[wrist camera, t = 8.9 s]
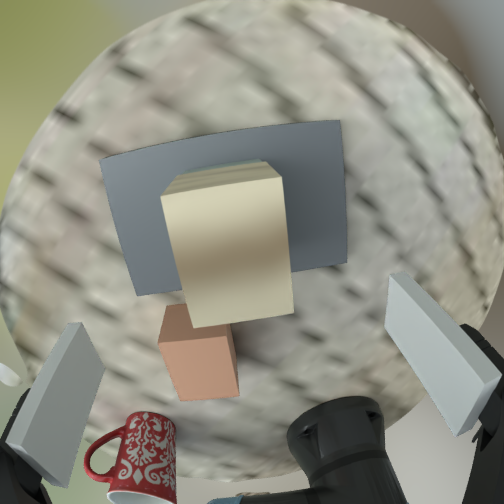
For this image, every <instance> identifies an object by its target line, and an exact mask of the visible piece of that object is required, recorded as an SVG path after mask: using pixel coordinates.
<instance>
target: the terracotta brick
mask: <svg viewBox="0 0 504 504" xmlns="http://www.w3.org/2000/svg"><path fill="white" fill-rule="evenodd" d="M158 345H159V348H160V351H161V354H162V356H163V359H164V362H165V364H166V367H167V369H168V372H169V374H170V377H171V379H172V382H173V384H174V387H175V389H176V392H177V394H178V396H179V399H180V401H193V400H206V399H217V398H227V397H236V396H239V385H238V372H237V358H236V353H235V348H234V342H233V337H232V332H231V327H230V323H229V324H221V325H214V326H207V327H199V328H193V325H192V321H191V318H190V314H189V311H188V307H187V304H178V305H169V306H167V307H166V311H165V315H164V319H163V323H162V327H161V331H160V335H159V339H158Z"/></svg>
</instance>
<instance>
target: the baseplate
mask: <svg viewBox="0 0 504 504" xmlns="http://www.w3.org/2000/svg"><path fill="white" fill-rule="evenodd" d="M265 161H266V162H267V163H268V164H269V165H270V166H271V167H272V168H273V169H274V170H275V171H276V172H277V173H278V174H279V175H280V176H281V177H282V184H283V193H284V203H285V213H286V223H287V234H288V245H289V256H290V268H291V272H297V271H303V270H308V269H314V268H320V267H326V266H331V265H337V264H342V263H347V222H346V196H345V178H344V163H343V150H342V138H341V127H340V120H326V121H312V122H300V123H290V124H280V125H271V126H263V127H255V128H247V129H240V130H234V131H227V132H221V133H215V134H209V135H203V136H198V137H192V138H187V139H182V140H177V141H172V142H167V143H163V144H158V145H154V146H149V147H145V148H141V149H137V150H133V151H129V152H125V153H121V154H117V155H113V156H110V157H106V158H103V159H100V160H99V162H100V167H101V172H102V176H103V180H104V185H105V189H106V193H107V197H108V201H109V205H110V209H111V213H112V216H113V220H114V224H115V227H116V231H117V234H118V238H119V241H120V245H121V248H122V251H123V255H124V258H125V261H126V264H127V267H128V271H129V274H130V277H131V280H132V283H133V286H134V289H135V292H136V294H137V296H142V295H149V294H156V293H163V292H170V291H177V290H183V289H182V285H181V282H180V278H179V274H178V270H177V266H176V262H175V258H174V254H173V250H172V246H171V242H170V238H169V233H168V229H167V225H166V220H165V216H164V211H163V207H162V202H161V197H160V196H161V195H162V193H163V192H164V191H165V190H166V188H167V187H168V186H169V185H170V183H171V182H172V181H173V180H174V179H175V177H176V176H177V175H182V174H187V173H193V172H199V171H204V170H210V169H216V168H223V167H229V166H236V165H243V164H250V163H257V162H265Z"/></svg>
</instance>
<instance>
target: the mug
mask: <svg viewBox="0 0 504 504" xmlns="http://www.w3.org/2000/svg"><path fill="white" fill-rule="evenodd" d="M117 437H120V438H121V439H122V440H121V444H120V448H119V452H118V456H117V460H116V464H115V466H113V467H112V468H111V469H110V470H109V471H108V472H107V473H105V474H97V473H95V472H94V471H93V470H92V469H91V467H90V458H91V456H92V454H93V453H94V452H95V450H96V449H98V448H99V447H101V446H102V445H103V444H105V443H107V442H108V441H110V440H112V439H114V438H117ZM175 441H176V430H175V426H174V424H173V423H172V422H171V421H170V420H169V419H167V418H165V417H163V416H161V415H159V414H155V413H150V412H137V413H134V414H131V415H130V416H129V417H128V418H127V421H126V425H125V426H123V427H120V428H118V429H116V430H114V431H112V432H110V433H108V434H106V435H104V436H103V437H101V438H99V439H98V440H97V441H95V442H94V443H93V444H92V445H91V446H90V447H89V449H88V450H87V452H86V454H85V458H84V469H85V471H86V473H87V475H88V476H89V477H90V478H92V479H93V480H95V481H98V482H108V483H110V484H111V485H110V489H109V491H108V492H107V498H108V499H109V500H110V501H111V502H113V503H114V504H177V499H176V450H175Z"/></svg>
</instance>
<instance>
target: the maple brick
mask: <svg viewBox="0 0 504 504" xmlns="http://www.w3.org/2000/svg"><path fill="white" fill-rule="evenodd" d="M160 197H161V202H162V207H163V211H164V216H165V220H166V225H167V229H168V233H169V238H170V242H171V246H172V250H173V254H174V258H175V262H176V266H177V270H178V274H179V278H180V282H181V285H182V289H183V293H184V296H185V300H186V304H187V307H188V311H189V314H190V318H191V321H192V325H193V328H199V327H207V326H214V325H221V324H229V323H235V322H242V321H249V320H255V319H262V318H268V317H274V316H280V315H286V314H291V313H294V306H293V293H292V280H291V268H290V256H289V245H288V234H287V223H286V213H285V203H284V193H283V184H282V177H281V176H280V175H279V174H278V173H277V172H276V171H275V170H274V169H273V168H272V167H271V166H270V165H269V164H268V163H267V162H266V161H265V162H257V163H250V164H243V165H236V166H229V167H223V168H216V169H210V170H204V171H199V172H193V173H187V174H182V175H177V176H176V177H175V179H174V180H173V181H172V182H171V183H170V185H169V186H168V187H167V188H166V190H165V191H164V192H163V193H162V195H161V196H160Z"/></svg>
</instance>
